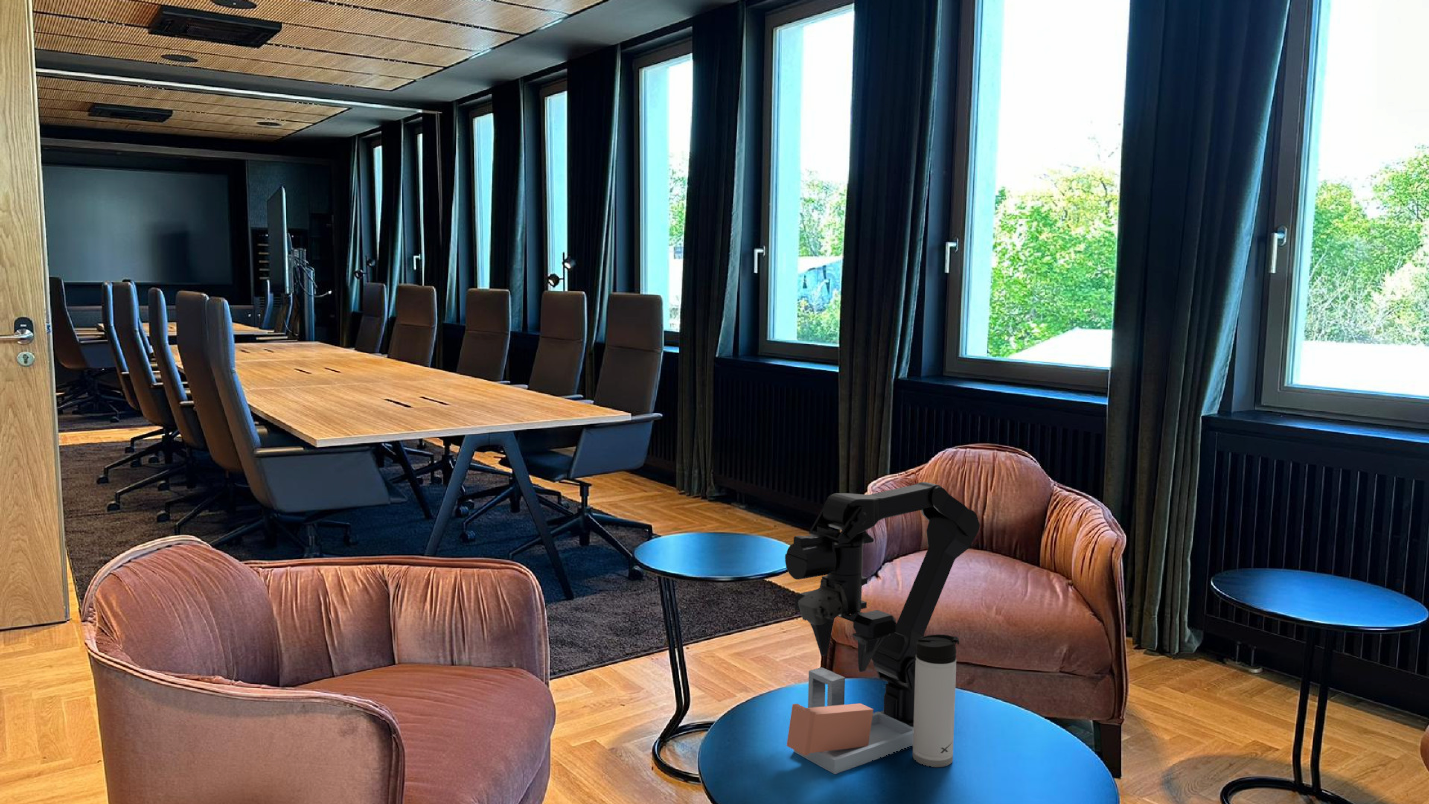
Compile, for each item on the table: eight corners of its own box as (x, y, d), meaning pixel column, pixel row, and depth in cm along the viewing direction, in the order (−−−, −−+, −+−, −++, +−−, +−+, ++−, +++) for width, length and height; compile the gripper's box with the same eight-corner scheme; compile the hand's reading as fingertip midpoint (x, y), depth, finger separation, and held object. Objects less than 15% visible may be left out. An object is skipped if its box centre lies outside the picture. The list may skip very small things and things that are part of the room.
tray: (878, 723, 176) (878, 711, 175) (920, 743, 168) (920, 730, 168) (793, 751, 164) (794, 738, 164) (834, 774, 157) (835, 760, 156)
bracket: (820, 709, 181) (821, 667, 181) (843, 721, 176) (845, 677, 176) (807, 713, 180) (808, 670, 179) (831, 725, 175) (832, 681, 174)
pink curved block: (852, 738, 168) (858, 698, 168) (870, 747, 165) (876, 706, 165) (786, 745, 160) (792, 704, 160) (804, 755, 156) (810, 712, 156)
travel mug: (955, 770, 158) (960, 645, 156) (912, 765, 160) (916, 641, 158) (954, 752, 165) (958, 632, 163) (912, 748, 166) (916, 629, 164)
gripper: (770, 566, 171) (769, 656, 172) (848, 592, 156) (846, 691, 157) (820, 556, 177) (818, 644, 179) (899, 581, 162) (896, 676, 164)
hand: (842, 663), depth 169 cm, fingers open, 9 cm apart
